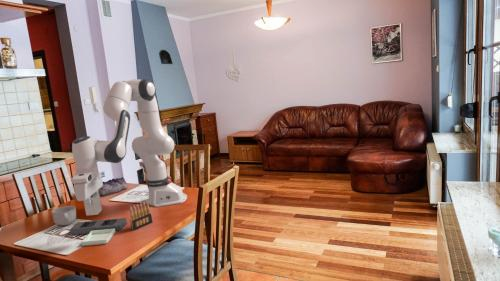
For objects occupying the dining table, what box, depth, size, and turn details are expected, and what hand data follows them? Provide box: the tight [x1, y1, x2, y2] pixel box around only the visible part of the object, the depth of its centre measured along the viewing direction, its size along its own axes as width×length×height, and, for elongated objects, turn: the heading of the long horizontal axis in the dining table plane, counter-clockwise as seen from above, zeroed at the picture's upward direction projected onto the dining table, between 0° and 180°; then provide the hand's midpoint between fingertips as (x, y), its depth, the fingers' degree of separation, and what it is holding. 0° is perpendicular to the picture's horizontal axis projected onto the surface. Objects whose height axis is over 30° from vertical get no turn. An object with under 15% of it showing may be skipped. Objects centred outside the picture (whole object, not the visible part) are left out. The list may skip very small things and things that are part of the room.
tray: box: [80, 229, 116, 247], centre depth 154 cm, size 11×11×2 cm
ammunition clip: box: [129, 200, 153, 231], centre depth 164 cm, size 11×2×12 cm, turn 139°
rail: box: [69, 217, 128, 236], centre depth 165 cm, size 24×8×3 cm, turn 93°
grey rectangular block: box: [83, 194, 103, 216], centre depth 151 cm, size 5×5×9 cm
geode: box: [98, 176, 128, 197], centre depth 220 cm, size 20×12×10 cm, turn 135°
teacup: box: [51, 205, 77, 227], centre depth 173 cm, size 14×11×8 cm
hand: (92, 203), depth 151 cm, fingers closed on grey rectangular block, 5 cm apart
